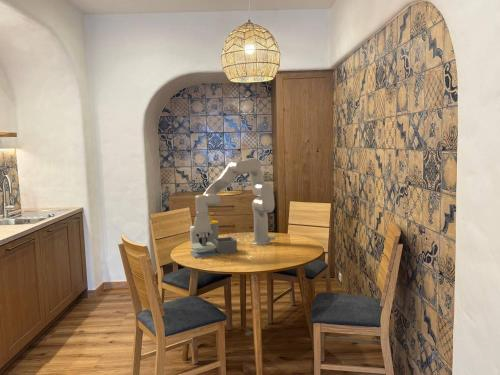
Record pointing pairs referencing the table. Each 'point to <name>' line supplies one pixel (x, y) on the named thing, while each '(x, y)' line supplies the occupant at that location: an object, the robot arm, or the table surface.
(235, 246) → the parts tub
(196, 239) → the supplement tub
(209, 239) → the soap bottle
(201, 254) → the mat
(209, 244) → the lid
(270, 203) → the robot arm
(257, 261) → the table surface
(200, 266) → the table surface
